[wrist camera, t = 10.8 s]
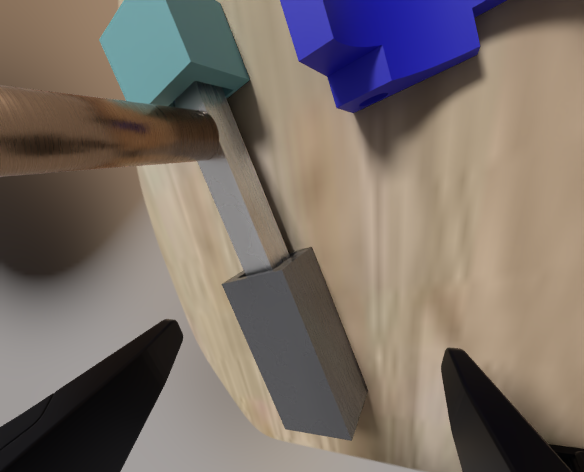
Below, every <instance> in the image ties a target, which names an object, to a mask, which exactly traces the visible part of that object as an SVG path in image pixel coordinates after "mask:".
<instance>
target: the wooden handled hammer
mask: <svg viewBox="0 0 584 472" xmlns="http://www.w3.org/2000/svg"><path fill="white" fill-rule="evenodd" d="M172 103H173V105H174V107H170V106H162V105H154V104H146V103H138V102H130V101H122V100H114V99H105V98H98V97H90V96H82V95H73V94H66V93H58V92H50V91H42V90H34V89H26V88H18V87H10V86H2V85H0V177H2V176H15V175H27V174H40V173H53V172H66V171H78V170H91V169H104V168H115V167H129V166H142V165H155V164H167V163H180V162H193V161H197V162H198V164H199V166H200V169H201V171H202V173H203V176H204V178H205V180H206V183H207V185H208V187H209V190H210V192H211V194H212V197H213V199H214V201H215V204H216V206H217V208H218V211H219V213H220V216H221V218H222V220H223V223H224V225H225V227H226V230H227V232H228V234H229V237H230V239H231V241H232V244H233V246H234V248H235V251H236V253H237V255H238V258H239V260H240V262H241V265H242V267H243V269H244V272H245V274H246V276H250V275H254V274H258V273H262V272H266V271H270V270H274V269H275V268H276V267H278V266H279V265H281V264H282V263H283V262H285V261H286V260H287V259H289V258H290V255H289V253H288V250H287V248H286V245H285V243H284V240H283V238H282V235H281V233H280V230H279V228H278V225H277V223H276V221H275V218H274V216H273V213H272V211H271V208H270V206H269V203H268V201H267V198H266V196H265V193H264V191H263V188H262V186H261V183H260V181H259V178H258V176H257V173H256V171H255V169H254V166H253V164H252V161H251V159H250V156H249V154H248V151H247V149H246V146H245V144H244V141H243V139H242V136H241V134H240V131H239V129H238V126H237V124H236V121H235V119H234V117H233V114H232V112H231V109H230V107H229V104H228V102H227V99H226V97H225V94H224V92H223V89H222V87H220V86H215V85H211V84H207V83H203V82H199V81H194V82H193V83H192V84H191V85H190V86H189V87H188V88H187V89H186V90H185V91H184V92H183V93H182V94H180V95H179V96H178V97H177V98H176V99H175V100H174V101H173V102H172Z"/></svg>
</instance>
